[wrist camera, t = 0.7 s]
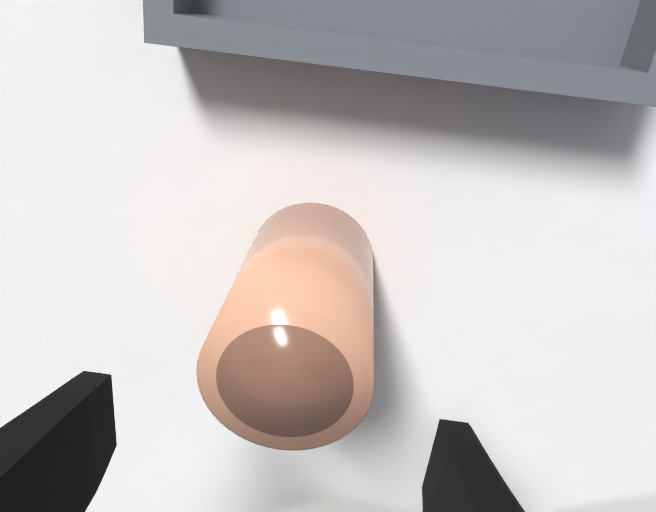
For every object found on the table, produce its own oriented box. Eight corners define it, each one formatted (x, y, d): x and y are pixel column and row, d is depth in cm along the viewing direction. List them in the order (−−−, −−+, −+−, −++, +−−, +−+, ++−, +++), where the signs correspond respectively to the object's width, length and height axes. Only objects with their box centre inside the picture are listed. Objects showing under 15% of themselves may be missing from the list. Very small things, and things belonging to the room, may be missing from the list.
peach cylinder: (381, 211, 19) (387, 321, 12) (364, 319, 21) (360, 462, 14) (255, 195, 19) (196, 295, 12) (249, 304, 21) (195, 439, 14)
